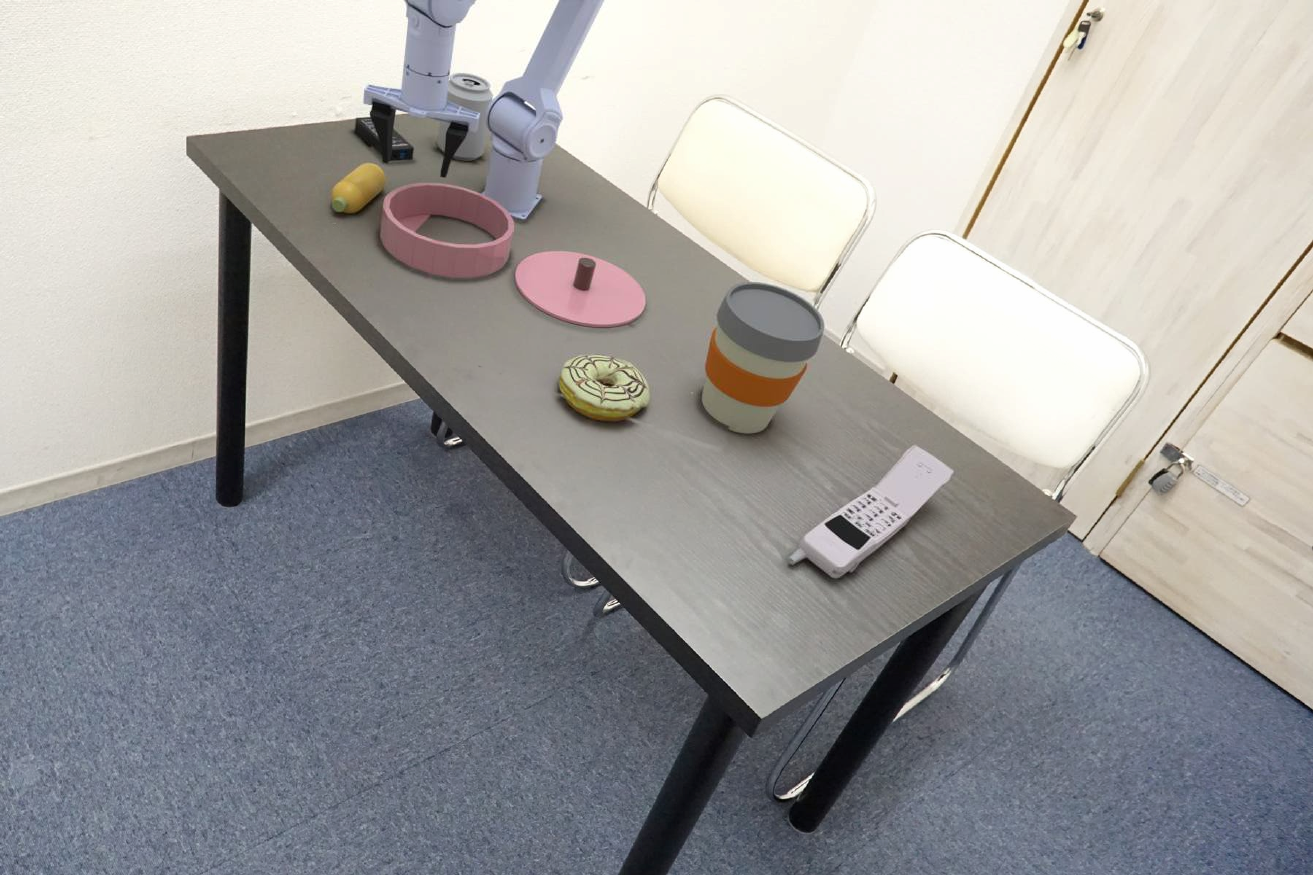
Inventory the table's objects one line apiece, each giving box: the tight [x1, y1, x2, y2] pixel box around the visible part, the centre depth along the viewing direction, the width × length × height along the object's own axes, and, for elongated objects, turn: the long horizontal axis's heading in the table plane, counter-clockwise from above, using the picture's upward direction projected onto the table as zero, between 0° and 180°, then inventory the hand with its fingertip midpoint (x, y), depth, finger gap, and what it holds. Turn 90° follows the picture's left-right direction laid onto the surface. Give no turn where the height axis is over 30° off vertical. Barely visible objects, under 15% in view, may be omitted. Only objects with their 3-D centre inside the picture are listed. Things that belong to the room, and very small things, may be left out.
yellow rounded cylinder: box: [330, 162, 387, 214], centre depth 132 cm, size 12×4×4 cm, turn 170°
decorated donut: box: [558, 353, 651, 422], centre depth 112 cm, size 10×11×4 cm
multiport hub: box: [354, 116, 415, 162], centre depth 148 cm, size 4×11×2 cm, turn 41°
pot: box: [379, 182, 515, 279], centre depth 129 cm, size 17×17×5 cm
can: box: [436, 72, 494, 162], centre depth 151 cm, size 8×8×12 cm
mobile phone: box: [787, 444, 955, 579], centre depth 106 cm, size 6×6×25 cm
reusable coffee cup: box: [701, 281, 825, 434], centre depth 115 cm, size 13×12×15 cm
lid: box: [514, 250, 647, 328], centre depth 130 cm, size 18×18×5 cm
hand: (415, 167), depth 128 cm, fingers open, 7 cm apart
